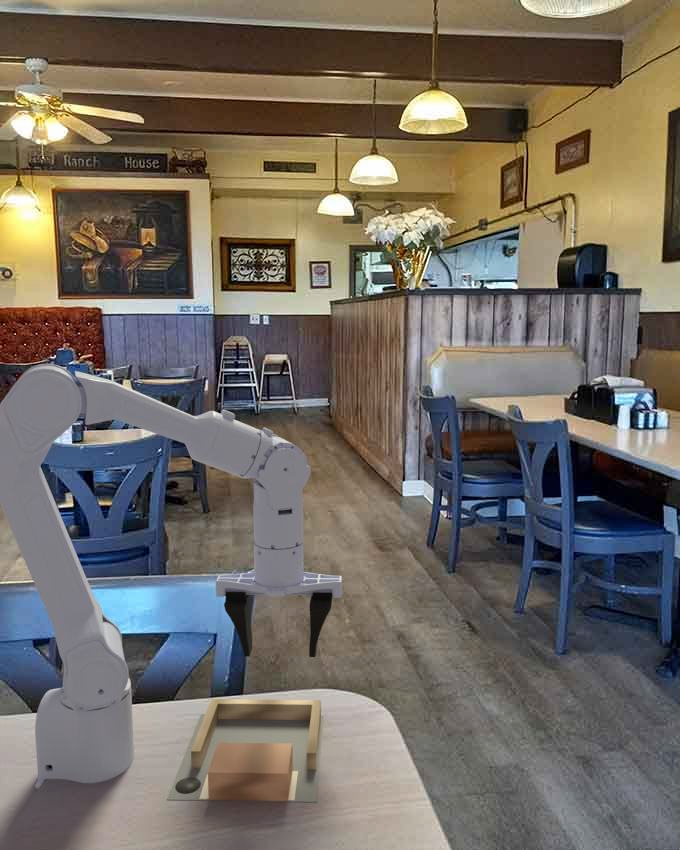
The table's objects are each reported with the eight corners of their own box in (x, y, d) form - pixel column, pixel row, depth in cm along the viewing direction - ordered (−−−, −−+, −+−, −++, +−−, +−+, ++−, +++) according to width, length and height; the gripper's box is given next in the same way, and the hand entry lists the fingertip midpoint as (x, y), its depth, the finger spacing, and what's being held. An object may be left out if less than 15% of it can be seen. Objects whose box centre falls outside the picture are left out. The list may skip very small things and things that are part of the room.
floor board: (167, 805, 70) (167, 799, 70) (201, 718, 85) (201, 714, 85) (316, 807, 70) (316, 801, 70) (323, 720, 85) (323, 715, 85)
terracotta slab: (208, 799, 70) (207, 772, 70) (218, 768, 75) (217, 742, 74) (288, 801, 70) (287, 773, 69) (292, 769, 75) (292, 743, 74)
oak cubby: (191, 768, 75) (190, 751, 75) (211, 714, 85) (211, 699, 85) (316, 770, 75) (315, 752, 74) (321, 715, 85) (321, 700, 85)
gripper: (208, 552, 77) (212, 668, 79) (340, 553, 76) (340, 670, 78) (221, 533, 84) (224, 640, 86) (342, 534, 83) (342, 641, 85)
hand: (280, 652), depth 82 cm, fingers open, 7 cm apart
